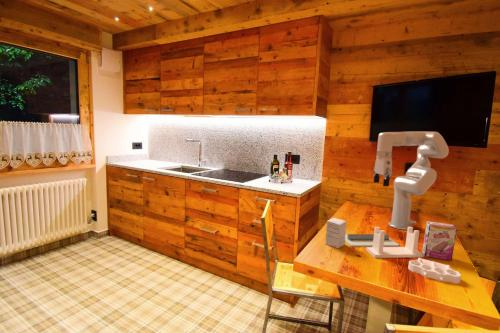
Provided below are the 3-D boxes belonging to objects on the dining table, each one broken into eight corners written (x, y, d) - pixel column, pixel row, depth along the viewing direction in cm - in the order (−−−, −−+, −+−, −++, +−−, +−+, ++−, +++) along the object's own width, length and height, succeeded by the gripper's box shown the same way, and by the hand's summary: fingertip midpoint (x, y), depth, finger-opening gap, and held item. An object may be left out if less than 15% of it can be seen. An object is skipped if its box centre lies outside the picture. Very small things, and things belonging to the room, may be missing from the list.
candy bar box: (424, 257, 128) (429, 224, 125) (421, 252, 132) (426, 220, 130) (452, 261, 124) (457, 227, 122) (448, 257, 129) (453, 224, 126)
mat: (383, 235, 153) (383, 234, 153) (399, 246, 139) (399, 244, 139) (339, 235, 151) (339, 234, 150) (350, 246, 137) (350, 245, 137)
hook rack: (411, 249, 136) (414, 225, 134) (423, 257, 128) (426, 232, 126) (365, 250, 133) (368, 225, 132) (374, 257, 126) (377, 232, 124)
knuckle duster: (458, 273, 115) (461, 289, 103) (409, 260, 125) (407, 274, 113) (459, 265, 115) (462, 281, 102) (410, 253, 124) (408, 266, 112)
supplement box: (331, 240, 144) (333, 217, 142) (345, 244, 139) (347, 221, 137) (324, 243, 139) (326, 220, 137) (338, 248, 134) (340, 224, 132)
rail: (386, 238, 147) (386, 234, 147) (388, 240, 145) (389, 235, 144) (347, 238, 145) (347, 234, 145) (349, 240, 143) (349, 235, 142)
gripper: (399, 156, 144) (396, 187, 146) (381, 153, 161) (378, 181, 164) (386, 156, 143) (383, 187, 146) (369, 153, 160) (366, 181, 163)
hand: (380, 184), depth 155 cm, fingers open, 9 cm apart
